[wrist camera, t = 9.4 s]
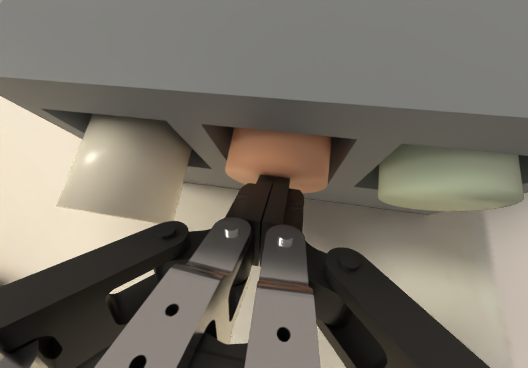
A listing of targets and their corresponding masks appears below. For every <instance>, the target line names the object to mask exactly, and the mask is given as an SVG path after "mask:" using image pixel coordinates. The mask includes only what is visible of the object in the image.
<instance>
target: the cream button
mask: <svg viewBox="0 0 528 368" xmlns="http://www.w3.org/2000/svg"><path fill="white" fill-rule="evenodd" d="M191 150H192V148H191V146H190V145H189V144H188V143H187V142H186V141H185V140H184V139H183V138H182V137H181V136H180V135H179V134H178V133H177V132H176V131H175V130H174V129H173V128H172V127H171V126H170V125H169V123H168V122H167V121H165V120H154V119H144V118H134V117H123V116H113V115H103V114H92V116H91V119H90V121H89V124H88V126H87V129H86V132H85V134H84V137H83V139H82V142H81V144H80V147H79V149H78V152H77V154H76V157H75V159H74V162H73V165H72V167H71V170H70V172H69V175H68V177H67V180H66V182H65V185H64V187H63V190H62V192H61V195H60V198H59V200H58V203H57V205H56V206H58V207H64V208H69V209H75V210H80V211H86V212H92V213H98V214H103V215H109V216H115V217H121V218H127V219H133V220H139V221H145V222H151V223H157V224H160V223H163V222H168V221H173V220H174V216H175V212H176V208H177V204H178V200H179V196H180V193H181V189H182V185H183V181H184V177H185V173H186V169H187V165H188V162H189V158H190V154H191Z"/></svg>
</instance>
